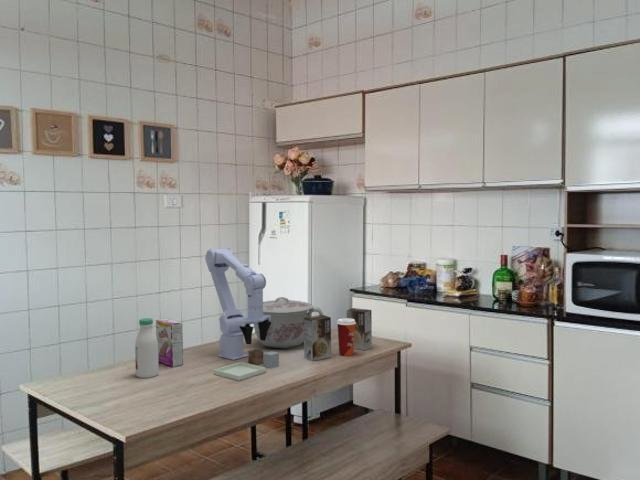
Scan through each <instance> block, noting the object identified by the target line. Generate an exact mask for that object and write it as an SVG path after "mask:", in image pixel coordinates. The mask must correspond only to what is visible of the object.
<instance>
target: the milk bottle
mask: <svg viewBox="0 0 640 480" xmlns="http://www.w3.org/2000/svg"><path fill="white" fill-rule="evenodd" d="M153 323H154V319H153V318H149V317H147V318H140V319H139V320H138V325H139V331H138V334H137V336H136V339H135V348H134V349H135V351H134V352H135V376H136V377H137V378H143V379H145V378H147V379H148V378H153V377H156V376H158V375H159V370H160V369H159V367H160V366H159V362H158V342H157V338H156V333H155V332H154V328H153V325H154V324H153Z"/></svg>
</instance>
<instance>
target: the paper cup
mask: <svg viewBox="0 0 640 480" xmlns="http://www.w3.org/2000/svg"><path fill="white" fill-rule="evenodd" d="M336 324H337V337H338V338H337V340H338V352H339V356H341V357H342V356H343V357H350V356H351V357H352V356H353V355H354V350H355V349H354V335H355V324H356V322H355V320H354V319H351V318H347V317H346V318H345V317H344V318H338V319H337V321H336Z"/></svg>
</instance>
